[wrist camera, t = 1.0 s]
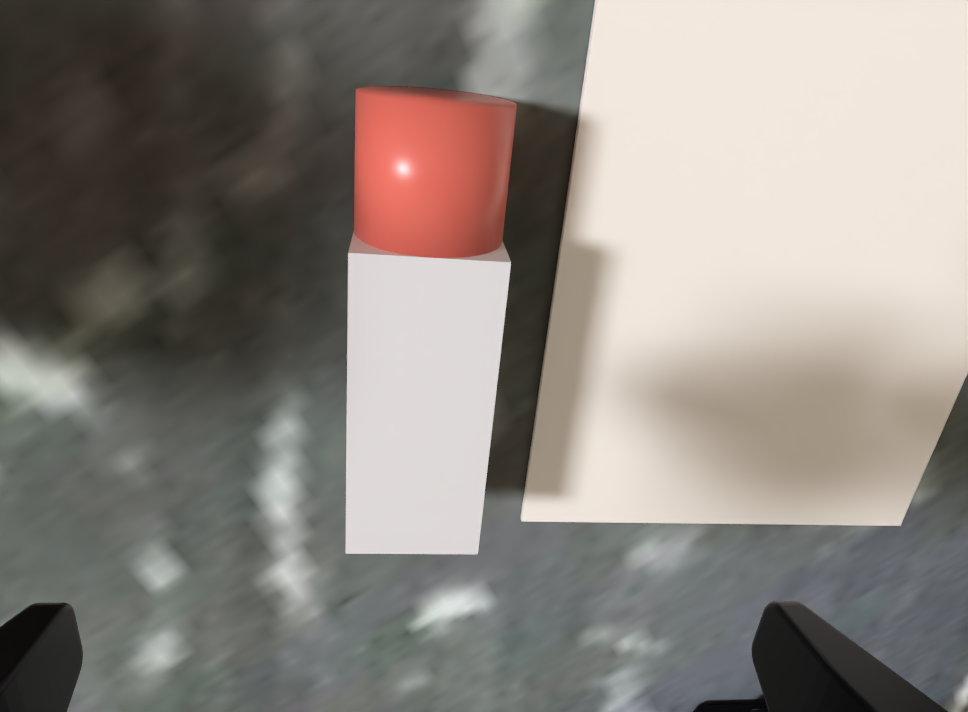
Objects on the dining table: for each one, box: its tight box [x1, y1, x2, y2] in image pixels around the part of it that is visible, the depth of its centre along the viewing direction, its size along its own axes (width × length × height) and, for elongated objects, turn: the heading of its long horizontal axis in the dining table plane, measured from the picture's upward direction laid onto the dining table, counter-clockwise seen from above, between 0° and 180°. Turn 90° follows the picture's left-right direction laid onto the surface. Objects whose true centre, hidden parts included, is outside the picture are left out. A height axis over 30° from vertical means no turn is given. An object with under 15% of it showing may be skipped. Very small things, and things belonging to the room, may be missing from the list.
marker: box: [346, 86, 517, 554], centre depth 17 cm, size 11×3×3 cm, turn 175°
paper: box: [521, 0, 968, 526], centre depth 19 cm, size 18×13×1 cm
